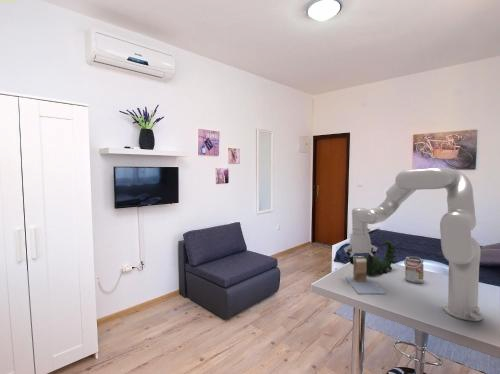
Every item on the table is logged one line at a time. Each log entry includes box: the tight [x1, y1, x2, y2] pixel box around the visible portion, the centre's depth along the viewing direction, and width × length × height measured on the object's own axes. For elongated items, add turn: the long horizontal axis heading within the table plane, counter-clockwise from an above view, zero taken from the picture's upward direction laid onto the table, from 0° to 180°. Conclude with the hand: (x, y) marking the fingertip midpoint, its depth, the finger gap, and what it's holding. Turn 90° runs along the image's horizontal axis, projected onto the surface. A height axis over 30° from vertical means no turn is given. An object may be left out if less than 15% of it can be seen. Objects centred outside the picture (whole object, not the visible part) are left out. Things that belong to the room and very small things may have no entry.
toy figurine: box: [363, 240, 397, 276], centre depth 155 cm, size 9×19×25 cm
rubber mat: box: [344, 276, 387, 295], centre depth 138 cm, size 20×13×1 cm, turn 178°
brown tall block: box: [352, 255, 367, 282], centre depth 144 cm, size 5×5×12 cm
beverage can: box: [403, 256, 424, 284], centre depth 142 cm, size 9×8×12 cm
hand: (361, 263), depth 143 cm, fingers open, 9 cm apart
